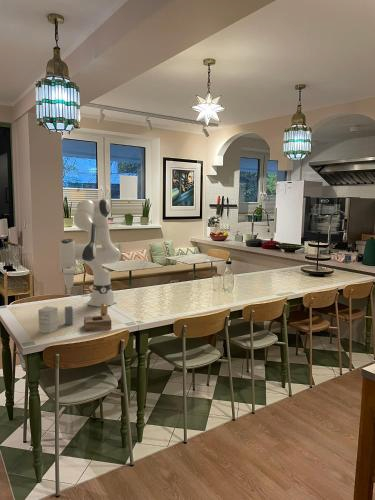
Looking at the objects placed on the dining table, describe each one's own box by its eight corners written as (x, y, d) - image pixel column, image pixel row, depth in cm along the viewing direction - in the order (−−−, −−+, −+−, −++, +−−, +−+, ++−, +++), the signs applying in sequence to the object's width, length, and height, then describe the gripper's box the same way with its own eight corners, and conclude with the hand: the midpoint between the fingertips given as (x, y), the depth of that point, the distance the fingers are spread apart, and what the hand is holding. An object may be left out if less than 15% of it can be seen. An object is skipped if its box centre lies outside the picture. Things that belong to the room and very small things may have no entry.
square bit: (65, 323, 220) (64, 306, 219) (72, 322, 221) (72, 306, 220) (65, 325, 216) (65, 308, 215) (72, 325, 218) (72, 308, 216)
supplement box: (47, 327, 212) (46, 306, 211) (58, 329, 210) (58, 307, 208) (38, 332, 205) (37, 309, 204) (50, 333, 203) (49, 311, 201)
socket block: (84, 325, 217) (83, 317, 216) (108, 323, 222) (108, 315, 221) (85, 331, 208) (85, 322, 207) (111, 328, 213) (111, 320, 212)
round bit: (100, 320, 227) (100, 304, 226) (107, 319, 228) (106, 303, 227) (101, 322, 223) (100, 305, 222) (108, 321, 225) (107, 305, 223)
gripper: (61, 265, 223) (62, 288, 225) (63, 271, 204) (63, 296, 206) (72, 264, 225) (73, 287, 227) (75, 270, 206) (75, 295, 208)
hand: (68, 291), depth 216 cm, fingers open, 8 cm apart
